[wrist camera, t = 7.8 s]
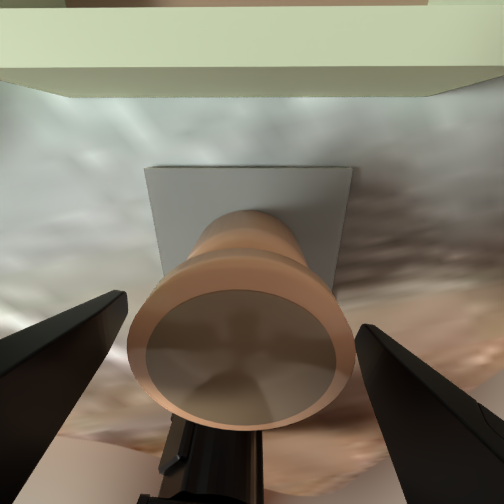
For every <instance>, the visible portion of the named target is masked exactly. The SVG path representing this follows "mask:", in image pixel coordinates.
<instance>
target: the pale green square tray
mask: <svg viewBox="0 0 504 504" xmlns="http://www.w3.org/2000/svg"><path fill="white" fill-rule="evenodd" d="M500 76H504V0H0V80H1V81H5V82H9V83H13V84H17V85H21V86H25V87H29V88H33V89H37V90H41V91H45V92H49V93H53V94H57V95H61V96H65V97H69V98H88V97H427V96H431V95H434V94H438V93H442V92H445V91H449V90H453V89H456V88H460V87H464V86H467V85H471V84H474V83H478V82H482V81H485V80H489V79H493V78H496V77H500Z"/></svg>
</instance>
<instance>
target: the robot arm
mask: <svg viewBox="0 0 504 504" xmlns="http://www.w3.org/2000/svg"><path fill="white" fill-rule="evenodd" d="M127 314H128V301H127V293H126V292H125V291H119V290H113V291H110V292H108V293H106V294H103V295H101V296H99V297H97V298H94V299H92V300H90V301H87V302H85V303H83V304H80V305H78V306H76V307H74V308H71V309H69V310H67V311H64V312H62V313H60V314H57V315H55V316H53V317H51V318H48V319H46V320H44V321H41V322H39V323H37V324H34V325H32V326H30V327H28V328H25V329H23V330H21V331H18V332H16V333H14V334H11V335H9V336H7V337H4V338H2V339H0V504H12V503H13V502H14V500H15V499H16V497H17V495H18V494H19V492H20V491H21V489H22V487H23V486H24V484H25V483H26V481H27V480H28V478H29V477H30V475H31V473H32V472H33V470H34V469H35V467H36V466H37V464H38V462H39V461H40V459H41V458H42V456H43V455H44V453H45V452H46V450H47V448H48V447H49V445H50V444H51V442H52V441H53V439H54V437H55V436H56V434H57V433H58V431H59V430H60V428H61V426H62V425H63V423H64V422H65V420H66V419H67V417H68V415H69V414H70V412H71V411H72V409H73V408H74V406H75V404H76V403H77V401H78V400H79V398H80V397H81V395H82V393H83V392H84V390H85V389H86V387H87V386H88V384H89V382H90V381H91V379H92V378H93V376H94V375H95V373H96V371H97V370H98V368H99V367H100V365H101V364H102V362H103V360H104V359H105V357H106V356H107V354H108V352H109V350H110V348H111V346H112V344H113V342H114V340H115V338H116V336H117V334H118V332H119V330H120V328H121V326H122V324H123V322H124V320H125V318H126V316H127ZM355 349H356V353H357V357H358V361H359V365H360V369H361V373H362V377H363V380H364V384H365V387H366V390H367V393H368V396H369V398H370V401H371V404H372V407H373V409H374V412H375V415H376V418H377V421H378V423H379V426H380V429H381V432H382V435H383V437H384V440H385V443H386V446H387V449H388V451H389V454H390V457H391V460H392V462H393V465H394V468H395V471H396V473H397V476H398V479H399V482H400V485H401V488H402V490H403V493H404V496H405V499H406V502H407V504H504V421H503V420H502V419H501V418H499V417H498V416H496V415H495V414H494V413H492V412H491V411H490V410H488V409H487V408H485V407H484V406H483V405H482V404H480V403H477V401H476V400H475V399H473V398H472V397H471V396H469V395H468V394H467V393H465V392H464V391H463V390H461V389H460V388H458V387H457V386H456V385H454V384H453V383H452V382H450V381H449V380H448V379H446V378H445V377H444V376H442V375H441V374H440V373H438V372H437V371H436V370H434V369H433V368H431V367H430V366H429V365H427V364H426V363H425V362H423V361H422V360H421V359H419V358H418V357H417V356H415V355H414V354H413V353H411V352H410V351H409V350H407V349H406V348H404V347H403V346H402V345H400V344H399V343H398V342H396V341H395V340H394V339H392V338H391V337H390V336H388V335H387V334H386V333H384V332H383V331H382V330H380V329H379V328H377V327H376V326H375V325H371V324H362V325H361V327H360V329H359V331H358V333H357V335H356V337H355ZM171 421H172V424H171V427H170V430H169V434H168V437H167V440H166V444H165V447H164V450H163V454H162V457H161V461H160V464H159V468H158V469H159V473H160V474H162V475H163V479H162V482H161V486H160V489H159V493H158V497H150V494H140V497H139V499H138V502H137V504H264V484H263V444H262V430H252V431H237V430H226V429H219V428H213V427H209V426H205V425H201V424H198V423H195V422H192V421H189V420H187V419H185V418H182V417H180V416H178V415H176V414H174V413H172V416H171Z"/></svg>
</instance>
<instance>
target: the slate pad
mask: <svg viewBox="0 0 504 504" xmlns="http://www.w3.org/2000/svg"><path fill="white" fill-rule="evenodd" d="M144 172H145V178H146V183H147V188H148V194H149V199H150V205H151V210H152V215H153V221H154V226H155V231H156V237H157V242H158V247H159V253H160V258H161V263H162V269H163V274H164V276H165V275H166V274H167V273H168V272H170V271H171V270H172V269H174V268H175V267H176V266H178V265H179V264H181V263H183V262H185V261H186V259H187V257H188V256H189V254H190V252H191V251H192V249H193V247H194V246H195V244H196V242H197V241H198V239H199V237H200V235H201V234H202V232H203V231H204V230H205V228H206V227H207V226H208V225H209V224H210V223H212V222H213V221H214V220H215V219H217V218H219V217H221V216H222V215H225V214H227V213H230V212H234V211H241V210H254V211H260V212H264V213H267V214H269V215H272V216H274V217H276V218H277V219H279V220H280V221H282V222H283V223H284V224H286V226H287V227H288V228H289V229H290V230H291V231H292V233H293V234H294V235H295V237H296V239H297V241H298V244H299V246H300V248H301V251H302V253H303V255H304V258H305V260H306V262H307V265H308V267H309V269H310V270H311V271H313V272H314V273H315V274H317V275H318V276H319V277H320V278H321V279H322V280H323V281H324V282H325V283H326V285H327V286H328V288H329V289H330V290H331V292H332V288H333V282H334V276H335V270H336V265H337V259H338V253H339V247H340V242H341V236H342V230H343V224H344V218H345V213H346V207H347V201H348V195H349V190H350V184H351V178H352V172H353V168H349V167H148V168H144Z"/></svg>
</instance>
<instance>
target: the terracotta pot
mask: <svg viewBox="0 0 504 504" xmlns="http://www.w3.org/2000/svg"><path fill="white" fill-rule="evenodd" d="M127 354H128V361H129V364H130V367H131V370H132V372H133V374H134V376H135V378H136V380H137V381H138V382H139V384H140V385H141V387H142V388H143V389H144V390H145V391H146V392H147V394H148V395H149V396H150V397H151V398H153V399H154V400H155V401H156V402H157V403H158V404H160V405H161V406H163V407H164V408H166V409H167V410H169V411H171V412H172V413H174V414H176V415H178V416H180V417H182V418H185V419H187V420H189V421H192V422H195V423H198V424H201V425H205V426H209V427H213V428H219V429H226V430H237V431H252V430H264V429H272V428H277V427H281V426H285V425H289V424H292V423H295V422H298V421H300V420H303V419H305V418H307V417H309V416H311V415H313V414H315V413H317V412H318V411H320V410H321V409H323V408H324V407H326V406H327V405H328V404H329V403H330V402H332V401H333V400H334V399H335V398H336V397H337V396H338V395H339V394H340V392H341V391H342V390H343V388H344V387H345V386H346V384H347V383H348V380H349V378H350V376H351V374H352V371H353V368H354V364H355V356H356V349H355V341H354V337H353V334H352V330H351V328H350V326H349V324H348V322H347V320H346V318H345V317H344V315H343V313H342V311H341V309H340V307H339V305H338V303H337V301H336V299H335V297H334V295H333V293H332V292H331V290H330V289H329V288H328V286H327V285H326V283H325V282H324V281H323V280H322V279H321V278H320V277H319V276H318V275H317V274H315V273H314V272H313V271H311V270H310V269H309V267H308V265H307V262H306V260H305V258H304V255H303V253H302V251H301V248H300V246H299V244H298V241H297V239H296V237H295V235H294V234H293V233H292V231H291V230H290V229H289V228H288V227H287V226H286V224H284V223H283V222H282V221H280V220H279V219H277V218H276V217H274V216H272V215H269V214H267V213H264V212H260V211H254V210H241V211H234V212H230V213H227V214H225V215H222V216H221V217H219V218H217V219H215V220H214V221H213V222H212V223H210V224H209V225H208V226H207V227H206V228H205V230H204V231H203V232H202V234H201V235H200V237H199V239H198V241H197V242H196V244H195V246H194V247H193V249H192V251H191V252H190V254H189V256H188V257H187V259H186V261H185V262H183V263H181V264H179V265H178V266H176V267H175V268H174V269H172V270H171V271H170V272H168V273H167V274H166V275H165V276H164V277H163V278H162V279H161V280H160V281H159V283H158V284H157V286H156V287H155V288H154V290H153V291H152V293H151V294H150V296H149V297H148V298H147V300H146V301H145V303H144V304H143V306H142V307H141V309H140V310H139V311H138V313H137V314H136V316H135V318H134V320H133V322H132V324H131V326H130V330H129V334H128V338H127Z"/></svg>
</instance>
